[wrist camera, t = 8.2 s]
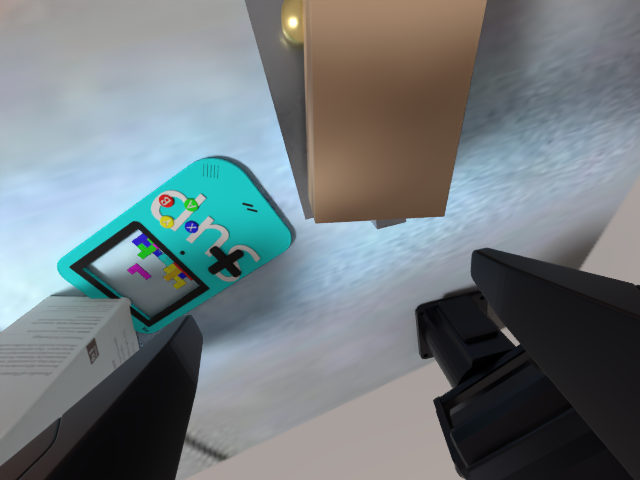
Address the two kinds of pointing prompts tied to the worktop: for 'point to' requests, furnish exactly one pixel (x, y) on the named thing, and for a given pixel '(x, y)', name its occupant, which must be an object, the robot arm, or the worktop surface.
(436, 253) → the worktop surface
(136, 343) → the skincare box
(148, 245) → the handheld gaming console
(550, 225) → the worktop surface
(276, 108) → the chassis
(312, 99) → the tan block
